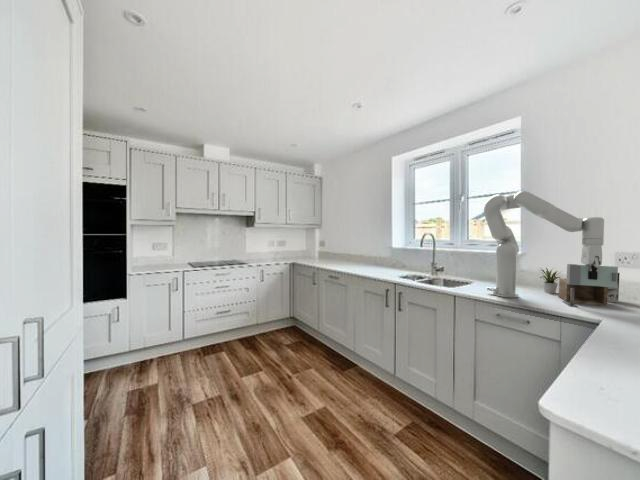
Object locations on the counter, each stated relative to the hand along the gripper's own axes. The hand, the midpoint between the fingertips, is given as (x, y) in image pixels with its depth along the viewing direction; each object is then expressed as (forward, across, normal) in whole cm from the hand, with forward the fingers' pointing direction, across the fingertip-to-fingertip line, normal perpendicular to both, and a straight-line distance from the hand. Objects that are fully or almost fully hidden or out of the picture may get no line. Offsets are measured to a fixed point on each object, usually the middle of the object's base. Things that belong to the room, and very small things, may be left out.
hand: (591, 278), depth 134 cm
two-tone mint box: (+3, 0, 0) cm, 3 cm away
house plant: (+15, -34, -9) cm, 38 cm away
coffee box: (+15, -24, +14) cm, 32 cm away
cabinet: (+15, -9, 0) cm, 17 cm away
